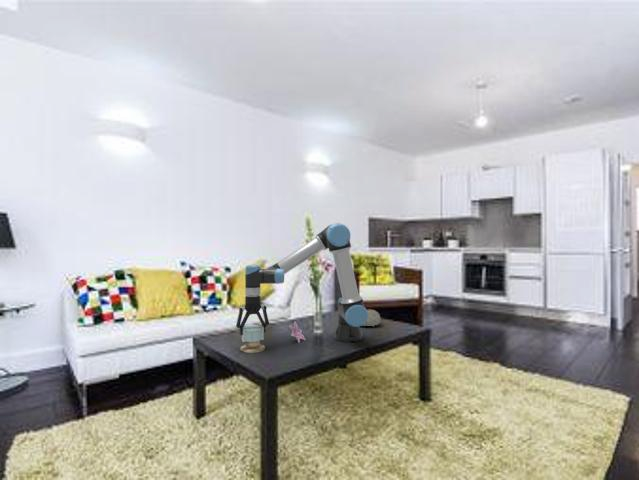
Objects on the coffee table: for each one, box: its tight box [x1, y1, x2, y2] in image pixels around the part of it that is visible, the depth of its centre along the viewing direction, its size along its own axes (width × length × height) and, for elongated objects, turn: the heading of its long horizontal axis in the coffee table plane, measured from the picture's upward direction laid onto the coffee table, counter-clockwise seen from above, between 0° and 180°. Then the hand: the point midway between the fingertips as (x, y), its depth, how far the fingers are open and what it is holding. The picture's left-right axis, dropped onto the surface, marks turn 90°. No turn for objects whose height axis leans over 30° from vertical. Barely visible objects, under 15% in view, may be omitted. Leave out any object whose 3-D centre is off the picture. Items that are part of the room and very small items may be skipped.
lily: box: [288, 320, 306, 343], centre depth 202 cm, size 12×12×10 cm
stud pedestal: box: [240, 340, 266, 354], centre depth 186 cm, size 12×12×9 cm
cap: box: [244, 324, 263, 342], centre depth 186 cm, size 9×9×6 cm
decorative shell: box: [361, 308, 382, 327], centre depth 239 cm, size 18×18×10 cm
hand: (252, 340), depth 186 cm, fingers closed on cap, 9 cm apart
